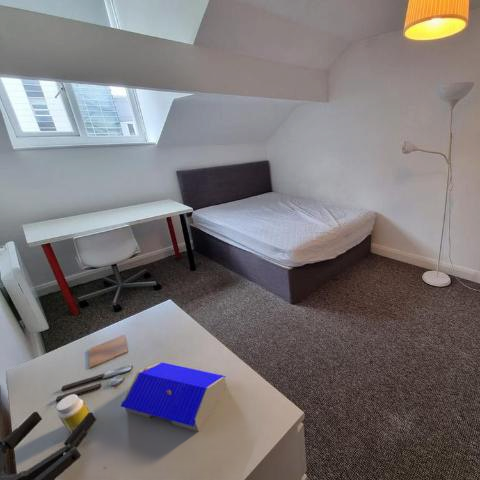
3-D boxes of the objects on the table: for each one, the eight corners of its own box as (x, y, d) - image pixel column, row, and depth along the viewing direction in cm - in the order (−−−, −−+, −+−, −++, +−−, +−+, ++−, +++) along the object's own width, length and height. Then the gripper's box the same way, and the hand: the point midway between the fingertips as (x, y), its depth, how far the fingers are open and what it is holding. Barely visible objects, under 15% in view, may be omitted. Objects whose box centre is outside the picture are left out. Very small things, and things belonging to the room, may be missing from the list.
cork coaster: (89, 349, 90) (89, 348, 90) (124, 335, 96) (124, 334, 96) (89, 368, 83) (89, 367, 83) (127, 352, 89) (127, 351, 89)
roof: (124, 414, 70) (114, 395, 67) (164, 369, 82) (157, 351, 79) (196, 434, 64) (189, 415, 61) (228, 383, 77) (223, 365, 74)
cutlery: (54, 405, 73) (53, 403, 72) (64, 386, 78) (63, 384, 78) (128, 382, 78) (127, 380, 78) (132, 365, 84) (131, 363, 83)
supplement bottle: (97, 415, 70) (84, 393, 66) (81, 434, 65) (66, 412, 62) (80, 413, 70) (67, 392, 67) (63, 433, 66) (48, 410, 62)
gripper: (-104, 551, 47) (23, 424, 66) (31, 557, 45) (120, 426, 65) (-136, 531, 44) (7, 404, 63) (9, 537, 42) (109, 406, 62)
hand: (65, 415), depth 64 cm, fingers open, 13 cm apart
